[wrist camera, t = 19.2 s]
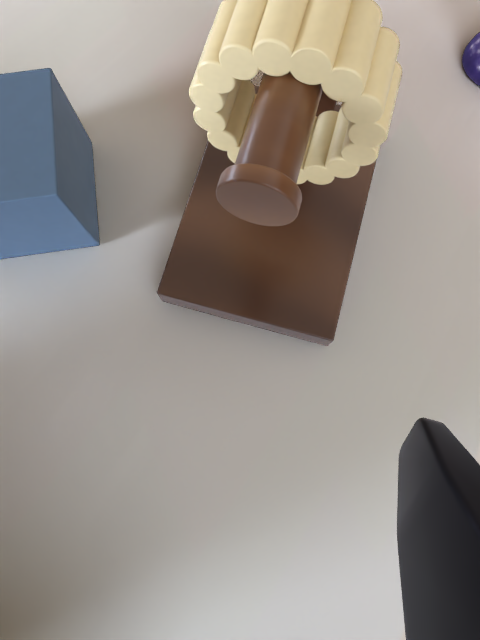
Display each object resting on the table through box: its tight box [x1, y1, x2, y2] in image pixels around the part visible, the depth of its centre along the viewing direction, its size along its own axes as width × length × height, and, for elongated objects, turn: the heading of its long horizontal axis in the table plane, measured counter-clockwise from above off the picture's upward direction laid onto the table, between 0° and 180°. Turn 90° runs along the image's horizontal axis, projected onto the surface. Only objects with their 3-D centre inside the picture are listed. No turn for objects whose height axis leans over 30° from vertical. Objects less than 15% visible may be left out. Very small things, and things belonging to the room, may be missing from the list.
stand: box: [157, 72, 376, 346], centre depth 18 cm, size 13×9×13 cm
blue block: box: [0, 68, 100, 259], centre depth 22 cm, size 6×6×6 cm
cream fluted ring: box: [189, 0, 402, 185], centre depth 15 cm, size 3×7×7 cm, turn 74°
